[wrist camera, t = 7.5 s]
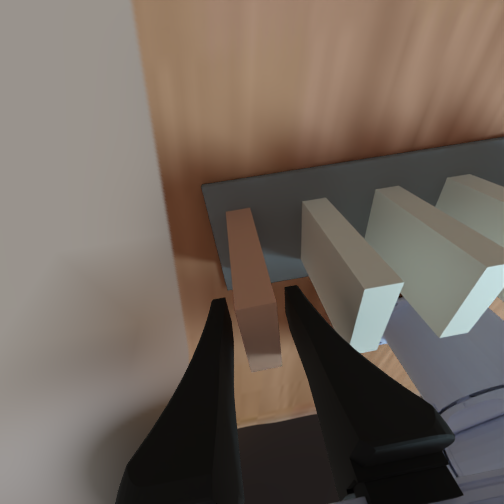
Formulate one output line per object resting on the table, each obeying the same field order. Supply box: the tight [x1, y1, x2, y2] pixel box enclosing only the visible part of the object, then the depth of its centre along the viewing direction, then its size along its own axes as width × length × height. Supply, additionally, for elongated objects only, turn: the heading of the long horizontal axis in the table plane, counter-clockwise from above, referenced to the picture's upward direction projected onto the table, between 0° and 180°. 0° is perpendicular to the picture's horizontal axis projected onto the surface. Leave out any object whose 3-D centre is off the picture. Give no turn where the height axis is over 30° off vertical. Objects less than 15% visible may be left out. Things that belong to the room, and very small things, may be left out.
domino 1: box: [301, 198, 404, 353], centre depth 14 cm, size 2×5×8 cm, turn 6°
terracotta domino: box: [226, 208, 282, 372], centre depth 13 cm, size 2×5×8 cm, turn 7°
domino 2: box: [365, 186, 504, 338], centre depth 14 cm, size 2×5×8 cm, turn 6°
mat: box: [201, 137, 504, 290], centre depth 17 cm, size 27×9×1 cm, turn 96°
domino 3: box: [435, 174, 504, 302], centre depth 14 cm, size 2×5×8 cm, turn 6°
